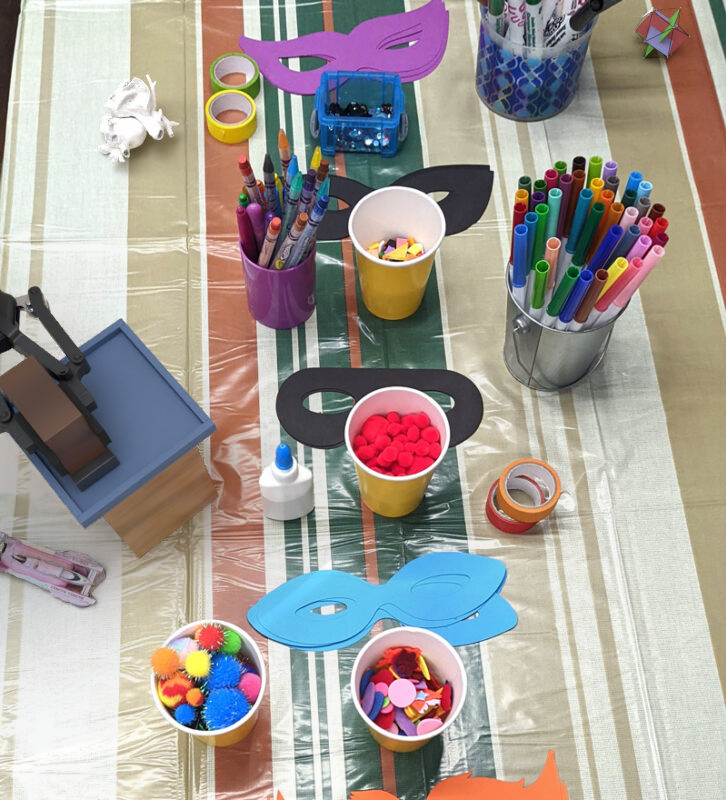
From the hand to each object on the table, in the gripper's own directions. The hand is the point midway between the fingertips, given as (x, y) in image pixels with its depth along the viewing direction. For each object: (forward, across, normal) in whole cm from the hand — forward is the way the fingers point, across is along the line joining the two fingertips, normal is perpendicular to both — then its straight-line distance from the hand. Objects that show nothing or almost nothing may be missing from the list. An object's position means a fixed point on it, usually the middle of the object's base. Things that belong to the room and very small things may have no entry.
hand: (83, 453), depth 80 cm
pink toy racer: (-5, +11, -28) cm, 30 cm away
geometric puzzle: (-13, -103, -28) cm, 108 cm away
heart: (-51, -34, -28) cm, 67 cm away
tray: (-5, -4, -8) cm, 10 cm away
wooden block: (-5, -4, -28) cm, 28 cm away
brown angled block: (-5, 0, -7) cm, 9 cm away
